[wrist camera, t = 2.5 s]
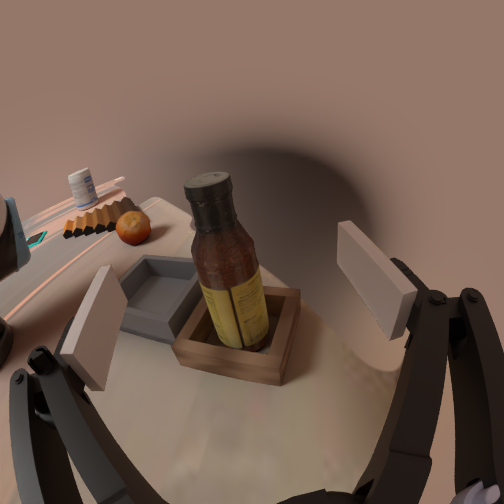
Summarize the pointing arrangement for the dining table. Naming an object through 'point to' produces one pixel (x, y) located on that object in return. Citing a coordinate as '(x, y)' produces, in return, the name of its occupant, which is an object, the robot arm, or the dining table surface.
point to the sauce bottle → (227, 264)
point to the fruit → (133, 227)
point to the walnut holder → (237, 361)
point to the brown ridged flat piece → (99, 219)
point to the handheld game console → (35, 239)
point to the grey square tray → (160, 297)
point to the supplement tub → (83, 189)
